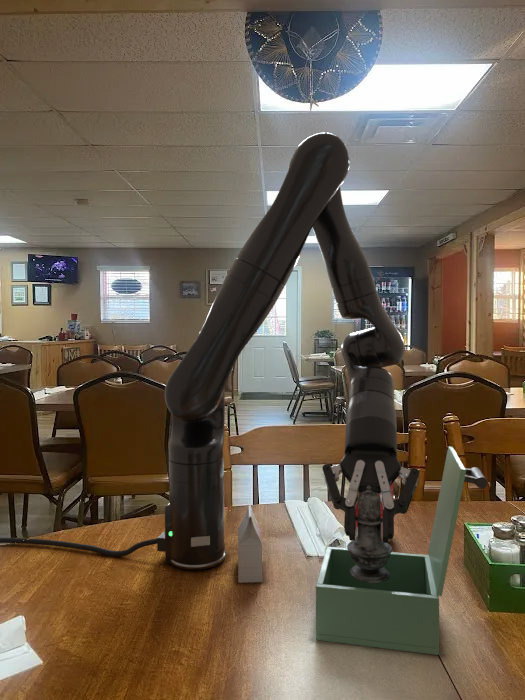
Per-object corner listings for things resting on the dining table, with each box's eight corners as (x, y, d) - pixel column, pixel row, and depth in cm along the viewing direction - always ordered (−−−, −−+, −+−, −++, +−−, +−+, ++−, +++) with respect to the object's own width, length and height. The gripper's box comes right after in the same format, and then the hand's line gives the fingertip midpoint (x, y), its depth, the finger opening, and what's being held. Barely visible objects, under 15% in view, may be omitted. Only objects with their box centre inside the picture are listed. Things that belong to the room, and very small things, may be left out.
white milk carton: (238, 582, 81) (237, 518, 81) (238, 563, 88) (238, 504, 87) (262, 581, 81) (261, 517, 81) (260, 562, 88) (260, 503, 88)
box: (316, 640, 66) (315, 586, 65) (326, 591, 78) (326, 546, 78) (438, 655, 62) (439, 598, 62) (430, 602, 75) (430, 555, 74)
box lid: (460, 468, 61) (497, 476, 60) (448, 446, 73) (478, 452, 73) (436, 595, 62) (472, 604, 61) (428, 552, 74) (457, 559, 74)
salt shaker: (393, 586, 67) (392, 492, 66) (346, 582, 68) (345, 490, 68) (391, 565, 73) (390, 479, 72) (348, 562, 74) (347, 477, 73)
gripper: (321, 413, 78) (311, 522, 67) (420, 415, 75) (427, 530, 64) (326, 441, 84) (317, 547, 72) (418, 444, 81) (424, 555, 69)
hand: (369, 538), depth 68 cm, fingers closed on salt shaker, 3 cm apart
